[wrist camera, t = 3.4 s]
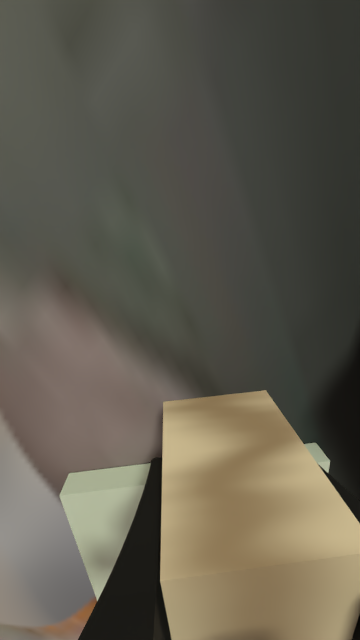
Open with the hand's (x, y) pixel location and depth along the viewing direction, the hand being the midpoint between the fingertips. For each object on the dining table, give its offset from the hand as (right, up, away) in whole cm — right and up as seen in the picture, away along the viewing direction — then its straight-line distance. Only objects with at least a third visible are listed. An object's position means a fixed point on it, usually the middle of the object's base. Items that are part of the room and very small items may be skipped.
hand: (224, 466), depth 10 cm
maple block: (0, +1, +2) cm, 2 cm away
